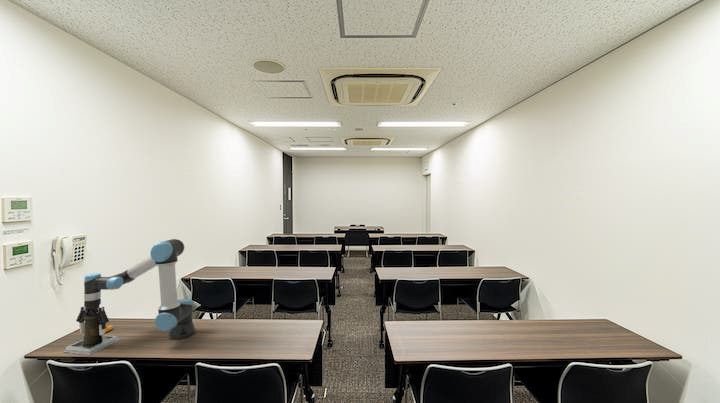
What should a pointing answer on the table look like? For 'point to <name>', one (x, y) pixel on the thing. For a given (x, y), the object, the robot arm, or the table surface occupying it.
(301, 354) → the table surface
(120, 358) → the table surface
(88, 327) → the container
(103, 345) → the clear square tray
